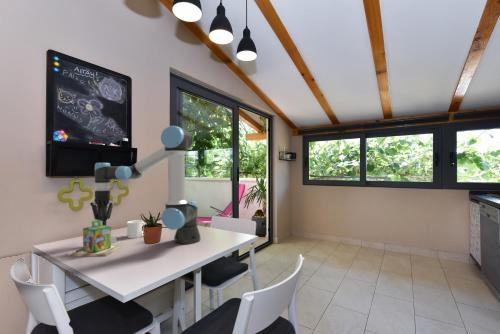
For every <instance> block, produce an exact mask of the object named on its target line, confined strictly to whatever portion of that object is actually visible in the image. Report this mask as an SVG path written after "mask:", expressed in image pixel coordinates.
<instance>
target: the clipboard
mask: <svg viewBox="0 0 500 334" xmlns="http://www.w3.org/2000/svg"><path fill="white" fill-rule="evenodd" d="M121 248H122V246H121V245H120V246H119V245H117V246H116V245H113V246H112V245H111V248H109V249H106V250H102V251H99V252H96V253H93V252H87V251H83V247H81V248H79V249H76V250H75V251H74V252H72V253H70V254H69V256H70V257H107V256H109V255H111V254H112V253H114V252H116V251H118V250H119V249H120V250H121Z"/></svg>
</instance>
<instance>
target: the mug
mask: <svg viewBox="0 0 500 334" xmlns="http://www.w3.org/2000/svg"><path fill="white" fill-rule="evenodd" d="M145 224H146V223H145V222H144V220H141V219H135V220H130V221H129V220H128V221H127V222H126V227H127V228H126V234H127V236H126V238H127V239H138V238H142V237H143V236H144V234H143V233H144V230H143V231H142V226H143V227H144V226H145Z"/></svg>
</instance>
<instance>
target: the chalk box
mask: <svg viewBox="0 0 500 334" xmlns="http://www.w3.org/2000/svg"><path fill="white" fill-rule="evenodd" d="M96 223H97V224H96ZM111 228H112V226H110V225H106V226H105V225H101V222H100V220H93V221H91V226H87V227H83V228H82V248H83V251H87V252H93V253H96V252H99V251H102V250H106V249H109V248H111V246H112V244H111V234H112V233H111V231H112V230H111Z"/></svg>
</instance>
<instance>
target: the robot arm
mask: <svg viewBox="0 0 500 334" xmlns="http://www.w3.org/2000/svg"><path fill="white" fill-rule="evenodd" d="M160 140H161V143H162V145H163V146H162V147H160V148H159V149H156V150H155V151H154V152H152V153H149V155H147V156H145V157H144V158H142V159H140V160H139V161H137V162H136V163H134V164H133V165H131V166H125V165H120V166H119V165H118V166H115V165H114V166H111V163H110V162H96V163H95V164H94V201H92V202H90V203H89V205H90V206H91V209H92V214H93V218H94V221H96V220H100V222H101V225H105V226H107V220H110V219H111V216H112V211H113V207H114V205H115V203H116V202H114V201H112V200H111V198H110V197H111V191H110V189H111V180H115V181H119V180H120V181H126V180H127V181H128V180H137V179H141V178H142V176H143V175H144V174H145V173H147V172H148V171H150V170H152V169H153V168H155V167H156V166H158V165H160V164H162V163H163V162H165V161H167V178H168V179H167V180H168V181H167V183H168V185H167V188H168V190H167V191H168V192H167V193H168V200H167V201H166V202H165V203H164V204H165V207H164V208H165V210H164V211H163V212H162V214H161V222H162V223H163V226H164V227H166V228H167V229H169V230H171V231H172V230H175V234H174V237H173V241H174V242H173V243H175V244H178V245H190V244H195V243H198V242H200V241H201V233H200V231H199V227H198V208H199V207H198V203H197V201H187V199H186V177H185V176H186V175H185V174H186V171H185V168H186V167H185V166H186V165H185V164H186V163H185V161H186V159H185V156H186V154H187V153H188V150H189V149H190V148H191V147H192V146H193V143H194V136H193V134H192V133H191V132H190V131H189V130H188V129H185V128H182V127H180V126H177V125H169V126H167V127H165V128H164V129H163V130H162V132H161V134H160Z"/></svg>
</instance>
